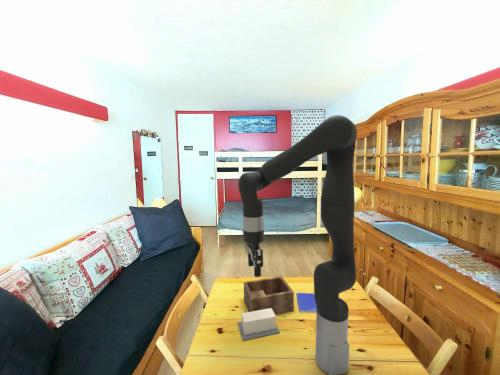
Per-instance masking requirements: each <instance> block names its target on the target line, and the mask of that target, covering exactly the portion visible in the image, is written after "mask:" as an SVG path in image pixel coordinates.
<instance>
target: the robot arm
mask: <svg viewBox="0 0 500 375" xmlns="http://www.w3.org/2000/svg"><path fill="white" fill-rule="evenodd" d="M357 136H358V129H357V126H356V125H355V123H354V122H353V121H352V120H350V118H348V117H346V116H344V115H339V114H337V115H331V116H329V117H328V118H326V119H324V120H323V121H322V122H321V123H320V124H318V125H317V126H316V127H315V128H314V129H313V130H312V131H310V132H309V133H308V134H307V135H305V136H304V137H303V138H302V139H300V140H298V141H297V142H296V143H295V144H293V145H292V146H290V147H288V148H287V149H285V150H284V151H282V152H280V153H279V154H277V155H275V156H274V157H272V158H270V159H269V160H267V161H266V162H264V163H263V164H262V165H261V167H260V168H258V169H257V170H255V171H251V172H249V171H247V172H244V173H242V174H241V175H240V177H239V179H238V184H237V185H238V187H237V188H238V191H239V195H240V199H241V202H242V213H243V214H242V217H243V218H242V235H243V236H242V239H243V242H244V243H245V252H246V256H247V264H248V265H247V266H248V267H253V272H254V274H253V275H254V277H255V278H260V277H261V276H262V268H263V267H264V254H263V253H264V251H263V250H264V249H262V248H261V246H260V244H261V243H263V242H264V241H265V227H264V226H265V222H264V221H265V220H264V210H263V209H264V205H263V200H262V199H261V198H258V192H260V191H261V190H264V189H266V187H269V186H271V184H273V183H274V182H276V181H278V180H280V179H282V178H283V177H287V176H289V174H291V173H293V172H294V171H296V170H297V169H298V168H299V167H300V166H302V165H304V164H305V163H306V162H308V161H310V160H311V159H314V158H315V157H317V156H320V155H322V154H325V153H326V170H325V175H324V180H323V184H322V188H321V194H320V220H321V222H322V224H323V227H324V228H325V230H326V232H327V234H328V236H329V237H330V240H331V243H332V245H331V246H332V256H331V259H330V260H327V261H324V262H321V263H319V264H317V265H316V266H315V267H314V272H313V291H314V292H313V294H314V298H315V302H316V305H317V313H315V315H316V320H315V322H316V323H315V363H316V365H317V366H318V367H319V369H320V370H321V371H323V372H324V373H326V374H328V375H343V374H348V373H349V359H350V343H349V341H348V337H349V336H348V334H349V313H350V311H349V310H350V309H349V305H348V304H347V302H346V301H345V300H344V299H342V298H341V297H340V294H342V293H344V292H346V291H348V290H350V289H352V288H353V287H354V286H355V284H356V280H357V270H356V259H355V248H354V247H355V246H354V245H355V244H354V243H355V242H354V240H355V239H354V238H355V237H354V236H355V234H354V231H355V230H354V227H355V226H354V225H355V224H354V222H355V181H354V158H355V149H356V145H357V144H356V142H357Z"/></svg>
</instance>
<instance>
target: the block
mask: <svg viewBox="0 0 500 375" xmlns="http://www.w3.org/2000/svg"><path fill="white" fill-rule="evenodd" d="M241 322H242V327H243V330H244V334H245V335H247V334H252V333H257V332H262V331H267V330H272V329H276V326H277V316H276V315H275V314H274V312H273V310H272V308H269V309H263V310H258V311H252V312H249V311H248V312H242V313H241Z"/></svg>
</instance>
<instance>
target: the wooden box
mask: <svg viewBox="0 0 500 375" xmlns="http://www.w3.org/2000/svg"><path fill="white" fill-rule="evenodd" d="M294 297H295V292H294V290H293V289H292V287H290V285H289V284H288V282H287V281H286V280H285V278H284V277H283V276H281V275H279V276H275V277H268V278H261V279H260V278H259V279H254V280H248V281H243V300H244V303H245V306H246V308H247V311H248V312H252V311H258V310H263V309H269V308H272V310H273V312H274V314H275V316H276V315H281V314H282V315H283V314H286V313H292V312H294V311H295V308H294V306H295V305H294V303H295V302H294V300H295V298H294Z"/></svg>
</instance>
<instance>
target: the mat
mask: <svg viewBox="0 0 500 375" xmlns="http://www.w3.org/2000/svg"><path fill="white" fill-rule="evenodd" d="M237 325H238V328H239V333H240V336H241V337H240V338H241V340H242V342H245V341H249V340H254V339H255V340H256V339H260V338H264V337H269V336H273V335H276V334H280V333H281V332H280V330H279V327H278V325H276V329H272V330H267V331H262V332H257V333H252V334H247V335H245V334H244V330H243V327H242V321H238V322H237Z"/></svg>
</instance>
